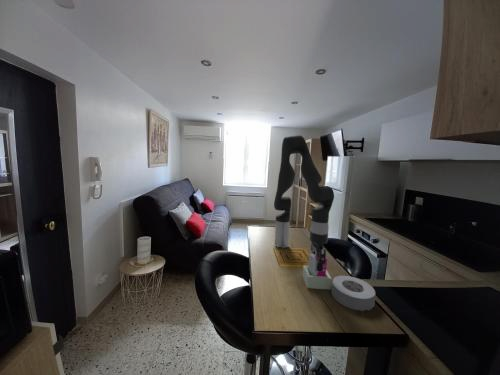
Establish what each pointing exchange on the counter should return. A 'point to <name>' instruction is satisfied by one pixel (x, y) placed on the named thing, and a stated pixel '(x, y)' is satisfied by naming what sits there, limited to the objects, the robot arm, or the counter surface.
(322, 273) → the supplement box
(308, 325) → the counter surface
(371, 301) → the tape roll
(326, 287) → the holder
